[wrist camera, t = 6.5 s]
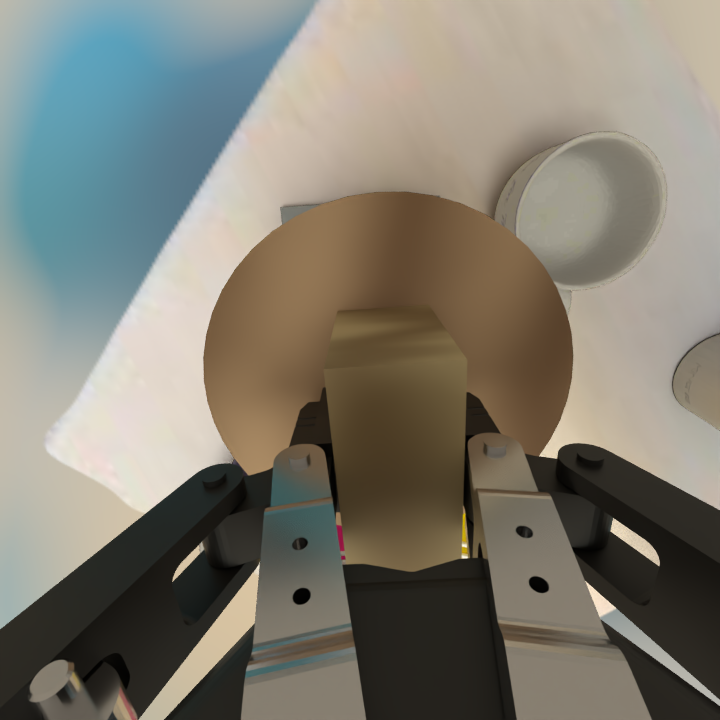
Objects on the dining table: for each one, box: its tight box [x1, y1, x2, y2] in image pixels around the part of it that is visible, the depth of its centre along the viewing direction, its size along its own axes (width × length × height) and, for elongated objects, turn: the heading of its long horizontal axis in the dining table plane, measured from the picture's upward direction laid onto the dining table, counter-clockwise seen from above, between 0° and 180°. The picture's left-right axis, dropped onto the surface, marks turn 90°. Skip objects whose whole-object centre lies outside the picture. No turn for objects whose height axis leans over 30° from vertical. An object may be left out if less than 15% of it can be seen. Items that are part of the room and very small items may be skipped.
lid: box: [203, 192, 573, 572], centre depth 12 cm, size 13×13×6 cm
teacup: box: [495, 131, 667, 315], centre depth 32 cm, size 14×11×8 cm
